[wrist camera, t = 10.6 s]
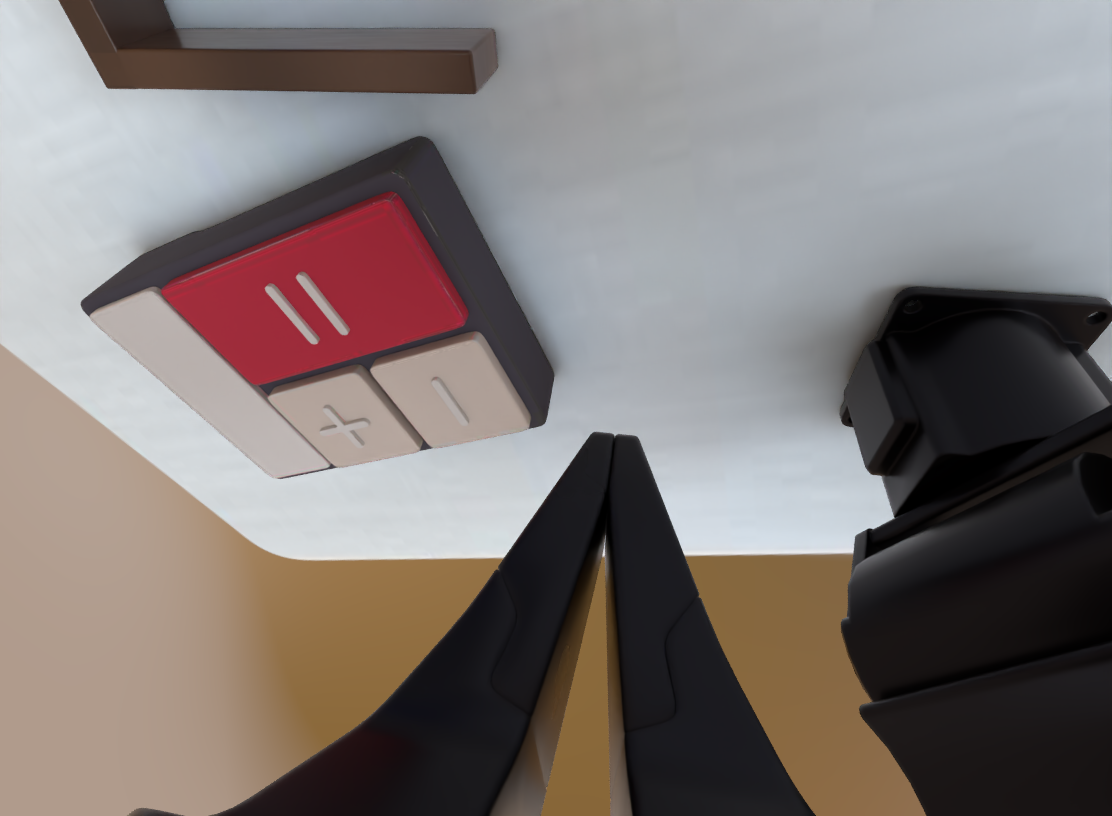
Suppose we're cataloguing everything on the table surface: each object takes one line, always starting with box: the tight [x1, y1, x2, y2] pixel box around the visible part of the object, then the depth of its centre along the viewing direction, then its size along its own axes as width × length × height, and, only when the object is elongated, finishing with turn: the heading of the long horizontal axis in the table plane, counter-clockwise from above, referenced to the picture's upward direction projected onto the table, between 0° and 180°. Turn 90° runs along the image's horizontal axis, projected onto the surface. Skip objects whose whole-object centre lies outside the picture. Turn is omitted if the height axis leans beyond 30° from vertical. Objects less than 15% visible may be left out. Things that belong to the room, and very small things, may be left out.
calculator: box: [81, 137, 554, 479], centre depth 22 cm, size 11×4×15 cm
